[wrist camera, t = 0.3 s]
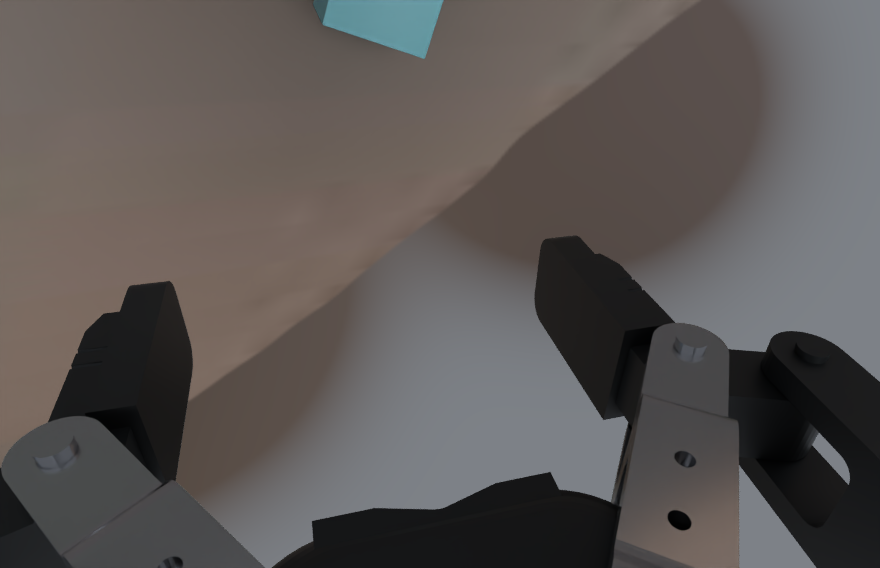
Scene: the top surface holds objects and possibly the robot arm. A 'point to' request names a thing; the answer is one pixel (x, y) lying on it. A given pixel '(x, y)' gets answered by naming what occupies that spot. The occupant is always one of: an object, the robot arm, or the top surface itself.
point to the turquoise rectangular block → (384, 21)
